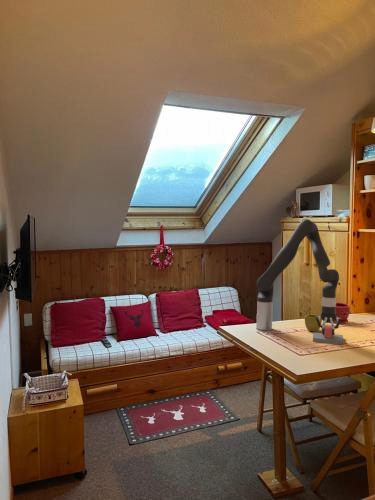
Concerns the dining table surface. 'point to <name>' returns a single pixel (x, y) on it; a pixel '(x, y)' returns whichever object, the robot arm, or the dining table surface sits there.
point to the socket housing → (328, 331)
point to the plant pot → (342, 312)
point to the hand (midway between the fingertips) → (327, 335)
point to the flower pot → (312, 322)
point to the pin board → (335, 338)
